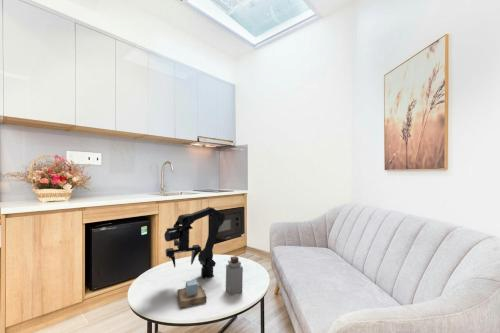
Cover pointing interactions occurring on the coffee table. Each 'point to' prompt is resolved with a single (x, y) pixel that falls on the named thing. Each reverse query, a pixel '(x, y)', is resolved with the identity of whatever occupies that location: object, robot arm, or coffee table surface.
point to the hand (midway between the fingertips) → (183, 265)
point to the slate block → (191, 287)
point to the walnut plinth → (191, 297)
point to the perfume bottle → (234, 276)
